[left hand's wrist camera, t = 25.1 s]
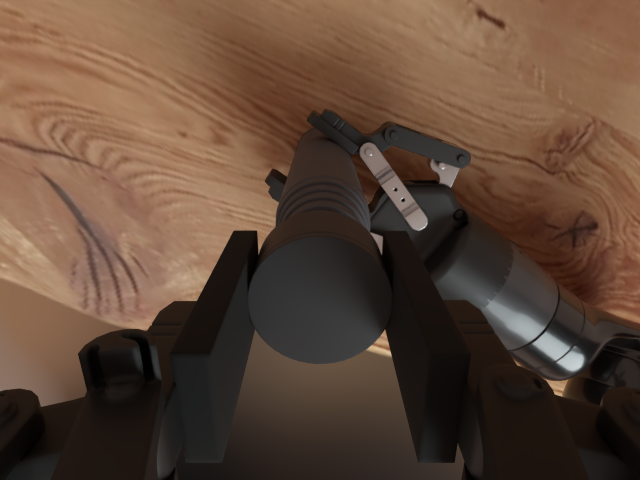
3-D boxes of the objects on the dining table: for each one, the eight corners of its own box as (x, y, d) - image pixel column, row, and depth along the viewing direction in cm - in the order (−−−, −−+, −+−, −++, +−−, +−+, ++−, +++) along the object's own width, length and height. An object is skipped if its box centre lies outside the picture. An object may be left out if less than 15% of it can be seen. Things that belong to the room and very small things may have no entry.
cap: (324, 183, 13) (325, 205, 11) (407, 272, 15) (422, 308, 12) (231, 265, 14) (216, 299, 12) (316, 343, 16) (315, 387, 13)
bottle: (352, 171, 37) (398, 320, 15) (304, 182, 37) (278, 345, 15) (341, 120, 35) (374, 203, 13) (291, 133, 36) (241, 233, 14)
